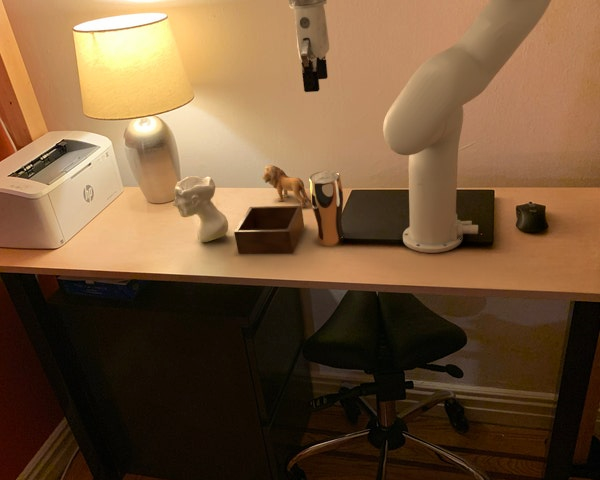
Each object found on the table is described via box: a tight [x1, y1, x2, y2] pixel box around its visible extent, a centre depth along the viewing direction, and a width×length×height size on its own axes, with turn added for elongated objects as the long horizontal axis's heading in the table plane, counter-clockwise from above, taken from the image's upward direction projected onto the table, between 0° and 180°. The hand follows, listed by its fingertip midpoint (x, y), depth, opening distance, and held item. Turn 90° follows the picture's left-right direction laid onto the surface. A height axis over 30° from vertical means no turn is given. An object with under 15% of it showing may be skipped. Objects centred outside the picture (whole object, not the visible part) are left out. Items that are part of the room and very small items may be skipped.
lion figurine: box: [261, 164, 312, 209], centre depth 150 cm, size 15×5×9 cm, turn 55°
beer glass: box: [309, 170, 346, 247], centre depth 129 cm, size 7×7×15 cm
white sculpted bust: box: [172, 175, 229, 243], centre depth 136 cm, size 10×11×15 cm
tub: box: [233, 205, 305, 255], centre depth 134 cm, size 13×13×6 cm
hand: (316, 84), depth 128 cm, fingers open, 9 cm apart
